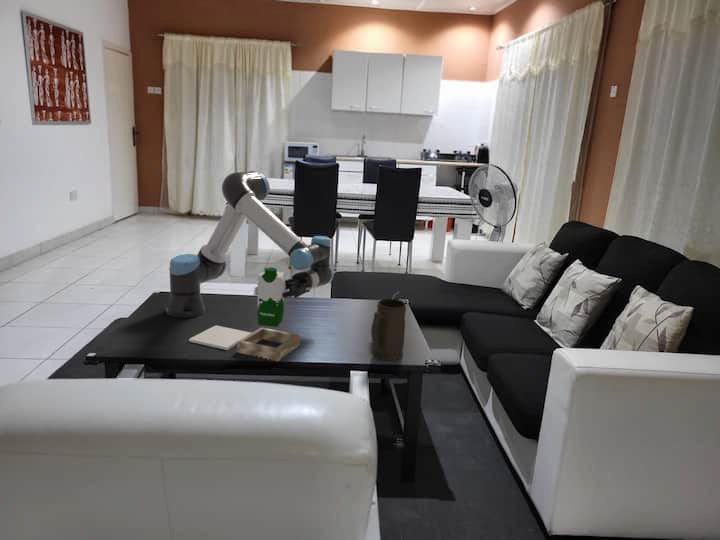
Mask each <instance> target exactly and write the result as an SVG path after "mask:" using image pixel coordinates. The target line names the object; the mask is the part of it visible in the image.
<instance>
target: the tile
mask: <svg viewBox="0 0 720 540" xmlns="http://www.w3.org/2000/svg"><path fill="white" fill-rule="evenodd" d="M251 333H252V332H249V331H245V330H240V329H235V328H231V327H225V326H220V325H217V324H216V325H214V326H212V327H210V328H208V329H205V330H204V331H202V332H200V333H198V334H196V335H194V336H192V337H190V338H189V339H188V342H189V343H194V344H199V345H203V346H206V347H211V348H215V349H221V350H225V351H228V350H230V349H232V348H233V347H235V346H237V345H236V344H237V341H239V340H241V339H242V338H244V337H246V336H247V335H249V334H251Z"/></svg>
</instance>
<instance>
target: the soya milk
mask: <svg viewBox="0 0 720 540" xmlns="http://www.w3.org/2000/svg"><path fill="white" fill-rule="evenodd" d="M285 280H286V271H279V270H277V268H276V267H266V268H264V270H262V271H260V273H259V274H258V276H257V287H258V295H257V303H256V305H257V307H256V308H257V314H256V315H257V326H266V327H272V328H273V327H274V328H278V327H279V326H280V324H281V323H282V322H283V319H284V318H283V317H284V311H285V298H284V299H282V291H284V290H285ZM278 292H280V300H278V301H274V293H278Z"/></svg>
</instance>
